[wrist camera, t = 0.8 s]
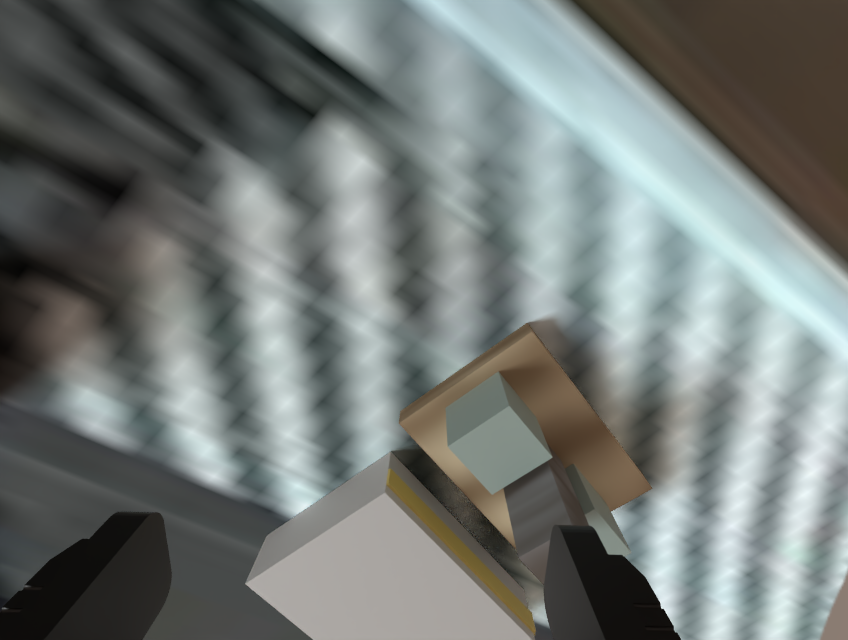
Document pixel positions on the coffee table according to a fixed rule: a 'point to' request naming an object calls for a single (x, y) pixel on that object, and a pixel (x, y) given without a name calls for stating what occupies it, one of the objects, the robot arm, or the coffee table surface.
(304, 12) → the coffee table surface
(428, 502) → the block
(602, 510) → the block
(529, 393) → the tan boxy piece
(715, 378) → the coffee table surface
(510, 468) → the block
